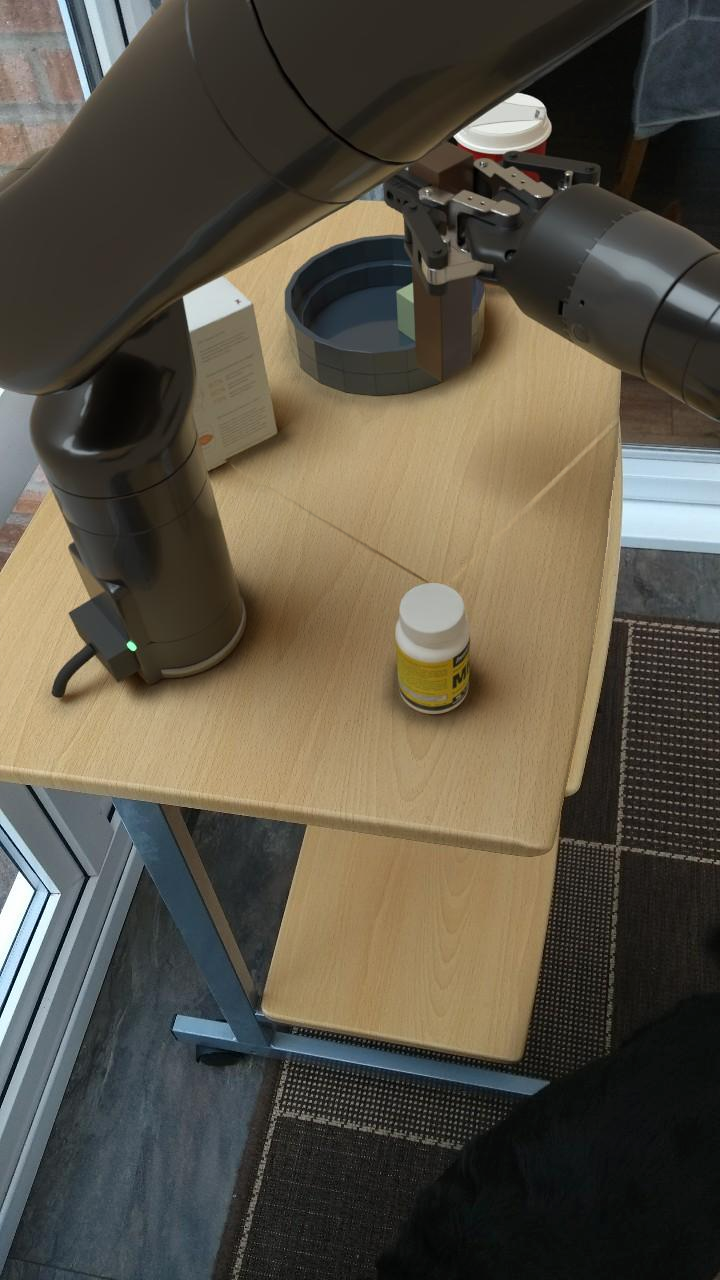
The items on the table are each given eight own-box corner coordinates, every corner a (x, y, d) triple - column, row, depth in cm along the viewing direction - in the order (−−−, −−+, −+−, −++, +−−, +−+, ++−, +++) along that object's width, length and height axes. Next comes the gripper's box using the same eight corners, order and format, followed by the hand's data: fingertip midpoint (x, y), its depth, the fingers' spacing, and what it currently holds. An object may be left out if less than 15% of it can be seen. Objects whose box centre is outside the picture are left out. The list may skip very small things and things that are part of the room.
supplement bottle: (463, 720, 67) (464, 642, 60) (392, 711, 67) (385, 633, 61) (473, 662, 69) (475, 581, 63) (405, 653, 70) (400, 573, 64)
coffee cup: (546, 250, 98) (558, 90, 87) (535, 301, 94) (546, 138, 82) (460, 245, 100) (460, 87, 88) (445, 294, 95) (443, 134, 83)
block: (426, 350, 89) (425, 311, 86) (397, 330, 92) (395, 291, 88) (461, 331, 91) (461, 291, 88) (432, 311, 93) (431, 272, 90)
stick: (442, 382, 71) (438, 172, 59) (415, 364, 72) (407, 156, 60) (472, 364, 72) (474, 154, 60) (445, 347, 73) (442, 138, 61)
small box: (243, 399, 88) (214, 264, 78) (280, 438, 85) (255, 302, 74) (160, 438, 86) (119, 304, 76) (194, 480, 82) (156, 345, 72)
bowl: (373, 428, 85) (368, 380, 81) (254, 338, 93) (245, 290, 89) (522, 339, 90) (525, 289, 86) (398, 261, 99) (395, 213, 95)
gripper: (721, 165, 54) (492, 67, 62) (530, 276, 49) (312, 153, 58) (695, 291, 59) (489, 185, 68) (522, 400, 55) (326, 271, 64)
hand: (409, 171), depth 63 cm, fingers closed on stick, 3 cm apart
